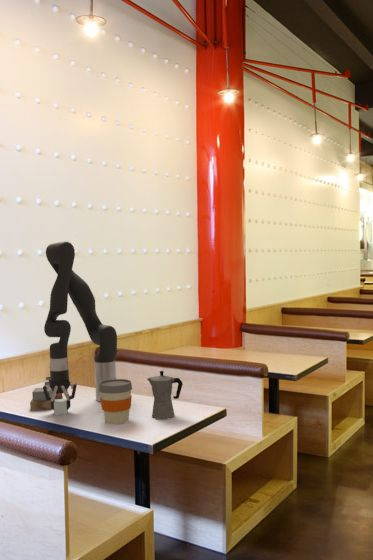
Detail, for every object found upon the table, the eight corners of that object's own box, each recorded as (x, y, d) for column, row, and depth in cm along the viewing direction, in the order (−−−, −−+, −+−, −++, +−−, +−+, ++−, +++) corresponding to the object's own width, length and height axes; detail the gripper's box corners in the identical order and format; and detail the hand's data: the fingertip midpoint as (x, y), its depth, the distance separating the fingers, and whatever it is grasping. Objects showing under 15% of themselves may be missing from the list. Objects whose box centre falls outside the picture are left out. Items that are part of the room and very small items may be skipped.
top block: (67, 410, 233) (67, 398, 233) (66, 414, 228) (66, 402, 228) (55, 411, 233) (55, 399, 233) (54, 414, 228) (53, 402, 228)
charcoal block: (52, 396, 244) (51, 387, 244) (49, 400, 237) (49, 391, 237) (35, 397, 243) (35, 388, 243) (32, 401, 236) (32, 391, 236)
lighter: (63, 397, 257) (62, 375, 256) (61, 399, 254) (60, 377, 253) (46, 397, 258) (45, 375, 257) (44, 399, 254) (43, 377, 254)
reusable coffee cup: (127, 426, 209) (126, 386, 208) (95, 425, 211) (94, 386, 211) (137, 416, 221) (135, 379, 220) (107, 416, 224) (105, 378, 223)
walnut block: (54, 404, 245) (54, 395, 245) (52, 410, 236) (52, 400, 236) (33, 406, 244) (33, 396, 244) (30, 411, 235) (30, 402, 235)
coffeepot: (142, 418, 219) (141, 372, 218) (153, 411, 228) (152, 367, 227) (178, 421, 213) (176, 374, 212) (188, 414, 221) (187, 369, 221)
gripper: (77, 365, 234) (79, 406, 235) (42, 367, 233) (44, 408, 233) (76, 369, 227) (77, 410, 228) (40, 371, 225) (41, 413, 226)
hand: (60, 409), depth 230 cm, fingers closed on top block, 5 cm apart
